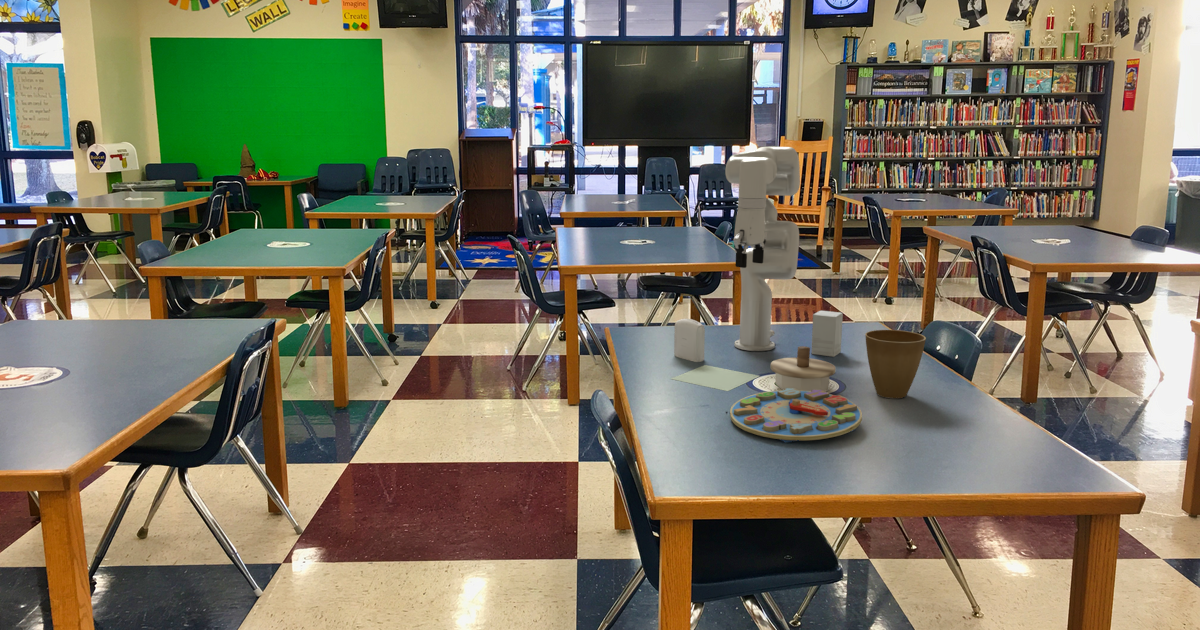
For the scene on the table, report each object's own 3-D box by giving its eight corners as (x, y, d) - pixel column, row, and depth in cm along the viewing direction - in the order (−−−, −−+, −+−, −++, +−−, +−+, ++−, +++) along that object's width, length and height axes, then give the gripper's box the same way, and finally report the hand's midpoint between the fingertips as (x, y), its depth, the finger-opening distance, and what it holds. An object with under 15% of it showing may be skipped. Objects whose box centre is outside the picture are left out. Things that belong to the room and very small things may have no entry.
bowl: (790, 377, 246) (791, 360, 245) (834, 386, 238) (835, 368, 237) (768, 388, 236) (769, 370, 235) (813, 398, 228) (815, 379, 227)
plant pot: (929, 394, 232) (935, 335, 228) (906, 407, 221) (911, 345, 218) (876, 382, 242) (880, 326, 238) (851, 394, 231) (855, 335, 227)
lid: (787, 357, 248) (789, 337, 246) (845, 368, 238) (847, 346, 236) (759, 370, 235) (760, 349, 233) (818, 382, 224) (820, 359, 223)
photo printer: (671, 357, 267) (672, 317, 264) (681, 355, 270) (682, 315, 267) (696, 364, 259) (697, 323, 257) (706, 362, 262) (707, 321, 259)
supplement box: (841, 352, 274) (844, 312, 271) (833, 357, 267) (836, 316, 265) (818, 348, 277) (820, 309, 275) (810, 354, 271) (812, 314, 269)
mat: (704, 366, 257) (704, 364, 256) (760, 377, 246) (760, 375, 246) (670, 380, 243) (670, 378, 243) (727, 393, 232) (727, 391, 232)
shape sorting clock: (706, 412, 218) (706, 389, 216) (808, 398, 230) (809, 375, 228) (777, 454, 190) (779, 428, 189) (889, 436, 202) (891, 411, 201)
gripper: (754, 201, 254) (752, 260, 258) (724, 205, 241) (722, 267, 244) (778, 202, 249) (775, 262, 253) (748, 207, 236) (746, 270, 240)
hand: (749, 265), depth 249 cm, fingers open, 9 cm apart
